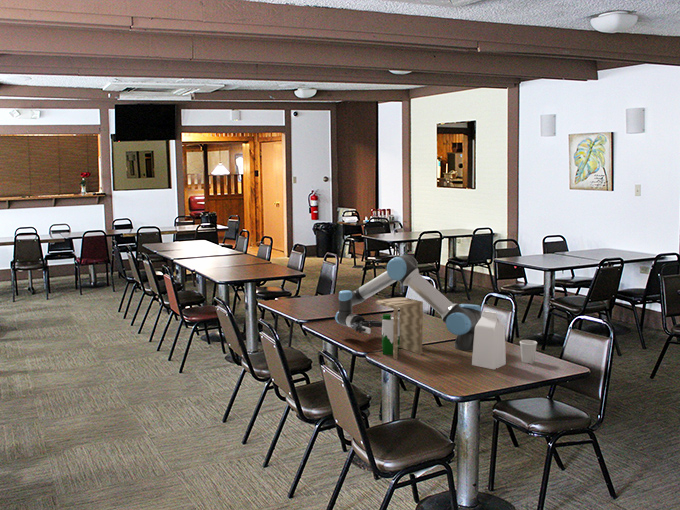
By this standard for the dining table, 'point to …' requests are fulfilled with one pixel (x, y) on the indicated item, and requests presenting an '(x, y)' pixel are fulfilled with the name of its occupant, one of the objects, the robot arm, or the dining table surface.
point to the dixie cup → (528, 350)
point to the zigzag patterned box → (406, 323)
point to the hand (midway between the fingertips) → (380, 329)
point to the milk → (489, 342)
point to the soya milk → (388, 334)
